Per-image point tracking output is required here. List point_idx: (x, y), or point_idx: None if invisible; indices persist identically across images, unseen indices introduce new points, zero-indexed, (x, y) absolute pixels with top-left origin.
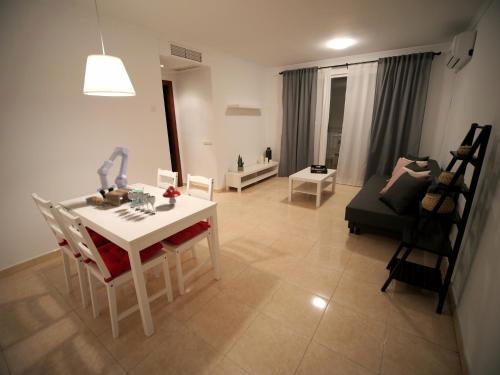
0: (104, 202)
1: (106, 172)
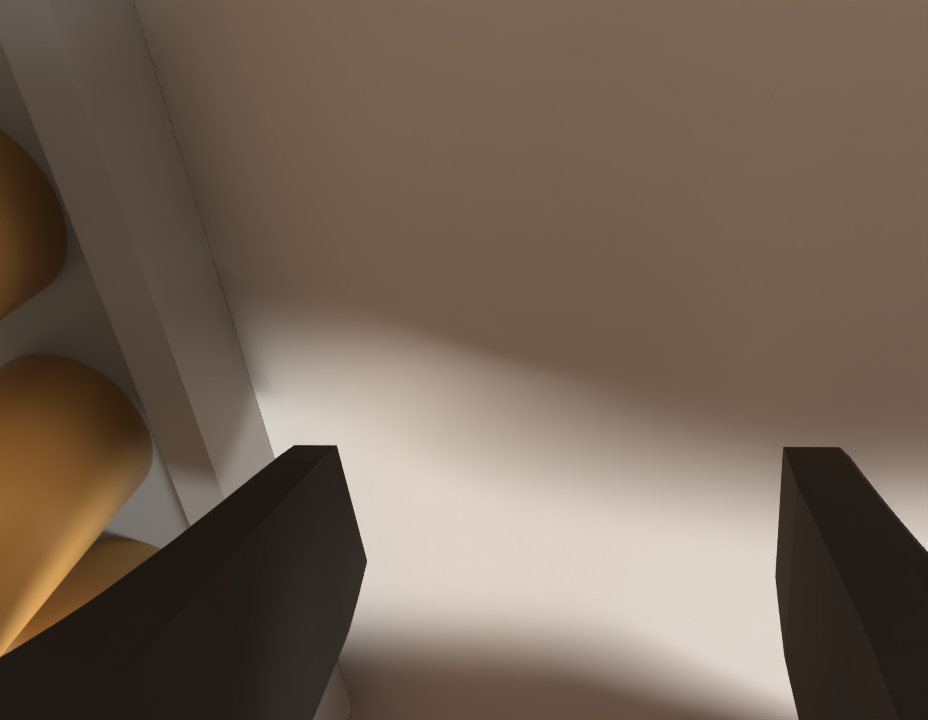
0: None
1: None
